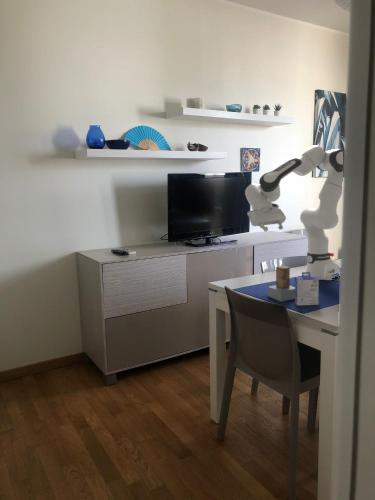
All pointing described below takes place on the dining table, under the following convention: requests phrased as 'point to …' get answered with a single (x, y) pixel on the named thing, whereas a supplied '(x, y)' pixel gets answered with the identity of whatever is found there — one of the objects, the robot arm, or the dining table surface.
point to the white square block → (281, 293)
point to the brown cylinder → (283, 277)
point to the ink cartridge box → (306, 290)
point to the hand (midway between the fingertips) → (274, 229)
